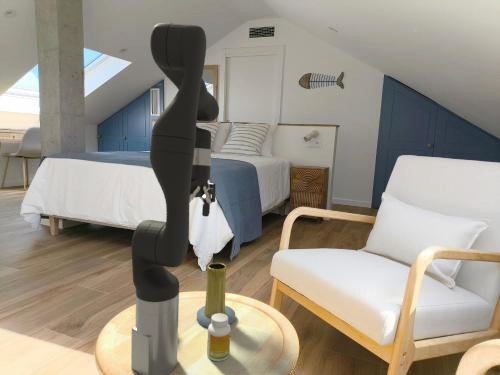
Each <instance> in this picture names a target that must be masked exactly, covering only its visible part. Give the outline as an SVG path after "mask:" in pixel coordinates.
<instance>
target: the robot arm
mask: <svg viewBox="0 0 500 375" xmlns="http://www.w3.org/2000/svg"><path fill="white" fill-rule="evenodd" d="M149 42H150V43H149V44H150V52H151V55H152V58H153V59H152V60H154V61H153V62H154V63H155V64H156V65H157V67H158V68H159V69H160V71H161V72H162V73H163V74H164V75H165V76H166V77H167V78H168V79H169V80H170V81H171V83H172V84H173V85H174V86H175V87H176V88H177V90H178V91H177V93H176V94H175V96H174V97H173V98H172V100H171V101H170V103H169V104H168V105H167V106H166V107H165V109H164V110H163V111H162V112H161V114H160V115H159V116H158V118H157V119H156V121H155V122H154V125H153V127H152V129H151V136H150V149H149V161H150V165H151V168H152V171H153V174H154V175H155V178H156V180H157V182H158V184H159V186H160V188H161V191H162V194H163V196H164V199H165V209H166V210H165V211H166V212H165V213H166V216H165V217H166V221H161V220H154V219H146V220H142V221H141V222H140V223H139V224H138V225H137V226H136V227H135V229H134V232H133V235H132V239H131V266H132V268H131V269H132V283H133V286H134V288H135V326H134V327H132V328H131V353H130V354H131V355H130V356H131V358H130V360H131V363H130V364H131V365H130V366H131V369H132V370H134V371H135V372H136V373H138V374H139V375H167V374H170V373H171V372H172V371H173V370H174V369H175V368H176V367H177V364H178V348H179V346H178V344H179V343H178V342H179V341H178V340H179V309H180V305H179V304H180V281H179V278H178V277H177V276H176V275H175V274H173V273H171V272H170V271H169V270H168V269H167V268H177V267H179V266H181V265H182V264H183V263H184V260H185V259H186V255H187V253H188V249H189V248H188V247H189V240H190V203H191V201H192V200H194V198H199V199H201V201H202V213H201V214H202V216H203V217H210V212H211V211H210V210H211V204H212V203H215V202H216V183H213V182H209V180H210V179H211V168H212V166H211V164H212V153H211V152H212V151H211V150H212V132H211V131H210V130H208V129H205V128H202V127H199V126H197V124H198V123H197V122H214V121H215V120H217V118H218V116H219V113H220V106H219V104H218V101H217V99H216V98H215V96H213V95H212V94H211V93H210V91H209V90H208V88H207V85H206V83H205V81H204V79H203V73H204V68H205V62H206V55H207V35H206V32H205V30H204V28H203V27H202V26H200V25H196V24H195V25H194V24H185V23H175V22H174V23H173V22H172V23H171V22H162V23H161V22H160V23H157V24H154V26H153V28H152V30H151V33H150V41H149ZM165 267H166V268H165Z"/></svg>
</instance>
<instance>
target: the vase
mask: <svg viewBox="0 0 500 375" xmlns="http://www.w3.org/2000/svg"><path fill="white" fill-rule="evenodd" d="M206 273H207V276H206V278H207V279H206V290H205V291H206V294H205V295H206V296H205V303H204V304H205V305H204V306H205V312H204V314H205V315H206V316H207V317H209V318H211V317H212V316H213V315H214V314H217V313H222V314H226V311H225V306H226V281H227V280H226V279H227V278H226V277H227V265H226V264H224V263H222V262H212V263H209V264H207V272H206Z"/></svg>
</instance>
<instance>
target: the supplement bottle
mask: <svg viewBox="0 0 500 375" xmlns="http://www.w3.org/2000/svg"><path fill="white" fill-rule="evenodd" d="M231 330H232V329H231V325H229V324H228V316H227V315H225V314H222V313H217V314H214V315H213V316H212V317H211V324H210V325H209V327H208V328H207V342H206V343H207V346H206V355H207V357H208V359H209V360H212V361H214V362H222V361H226V359H228V358H229V356H230V353H231V352H230V351H231V350H230V347H231V346H230V344H231Z"/></svg>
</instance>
